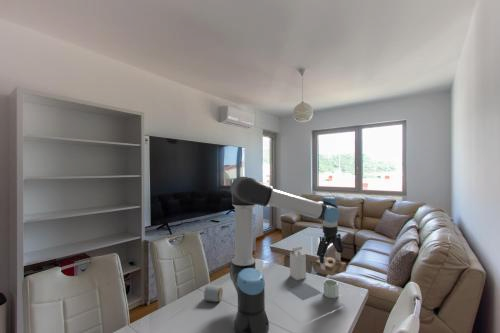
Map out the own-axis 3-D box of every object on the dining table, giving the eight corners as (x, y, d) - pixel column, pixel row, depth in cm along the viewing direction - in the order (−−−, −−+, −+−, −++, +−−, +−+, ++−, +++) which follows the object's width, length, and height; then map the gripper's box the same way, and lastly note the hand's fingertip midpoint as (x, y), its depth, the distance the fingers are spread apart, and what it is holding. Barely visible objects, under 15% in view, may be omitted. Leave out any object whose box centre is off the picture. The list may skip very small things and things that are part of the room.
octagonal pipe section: (331, 300, 125) (331, 287, 125) (320, 293, 131) (320, 281, 131) (341, 296, 129) (341, 283, 129) (330, 290, 135) (330, 278, 135)
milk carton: (290, 276, 153) (289, 246, 153) (299, 274, 156) (298, 244, 156) (296, 281, 146) (296, 249, 146) (306, 278, 149) (305, 248, 149)
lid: (331, 275, 122) (331, 266, 122) (315, 268, 132) (315, 259, 132) (346, 270, 128) (346, 261, 128) (329, 263, 138) (329, 255, 138)
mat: (302, 301, 124) (302, 300, 124) (286, 290, 135) (286, 289, 135) (322, 293, 131) (322, 292, 131) (305, 283, 143) (305, 282, 143)
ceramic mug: (219, 305, 122) (219, 289, 122) (203, 303, 123) (203, 288, 124) (225, 294, 132) (224, 280, 132) (210, 293, 134) (210, 279, 134)
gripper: (319, 230, 121) (320, 274, 121) (350, 224, 133) (350, 264, 133) (309, 227, 127) (309, 268, 127) (338, 221, 139) (339, 259, 139)
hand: (330, 266), depth 130 cm, fingers closed on lid, 11 cm apart
